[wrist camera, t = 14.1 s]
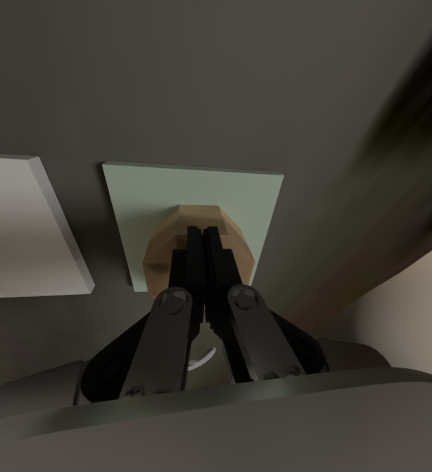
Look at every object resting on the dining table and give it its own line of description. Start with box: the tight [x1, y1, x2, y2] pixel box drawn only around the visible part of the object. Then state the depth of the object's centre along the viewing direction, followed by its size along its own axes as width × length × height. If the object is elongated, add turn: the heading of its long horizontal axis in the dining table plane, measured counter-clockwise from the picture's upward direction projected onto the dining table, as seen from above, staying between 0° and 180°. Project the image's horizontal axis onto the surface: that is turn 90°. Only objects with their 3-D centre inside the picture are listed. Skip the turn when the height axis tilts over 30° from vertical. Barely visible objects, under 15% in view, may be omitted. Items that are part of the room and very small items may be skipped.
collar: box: [142, 204, 255, 309], centre depth 13 cm, size 7×7×4 cm
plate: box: [102, 161, 284, 292], centre depth 14 cm, size 12×12×5 cm
